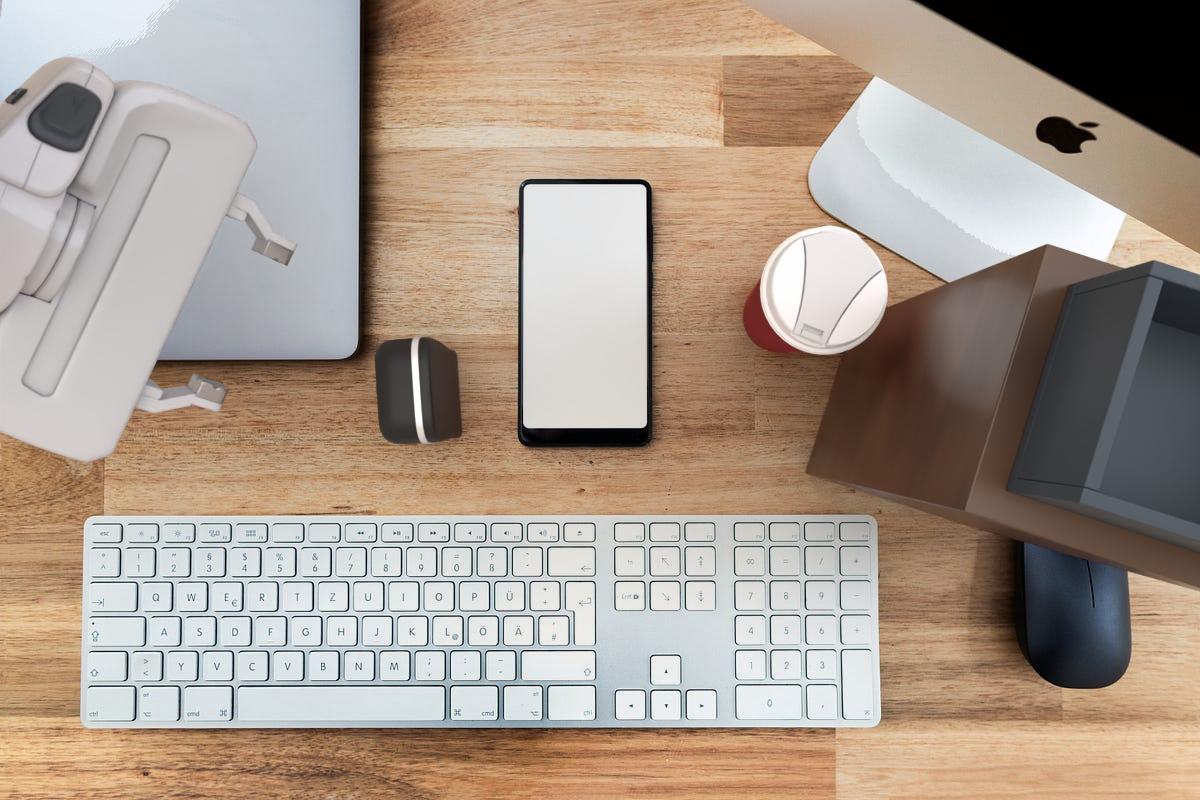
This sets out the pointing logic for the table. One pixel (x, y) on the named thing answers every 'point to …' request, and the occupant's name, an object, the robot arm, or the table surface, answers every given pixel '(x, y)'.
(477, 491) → the table surface
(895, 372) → the stand
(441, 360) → the battery charger
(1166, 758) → the table surface
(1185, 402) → the bin
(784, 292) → the paper cup
